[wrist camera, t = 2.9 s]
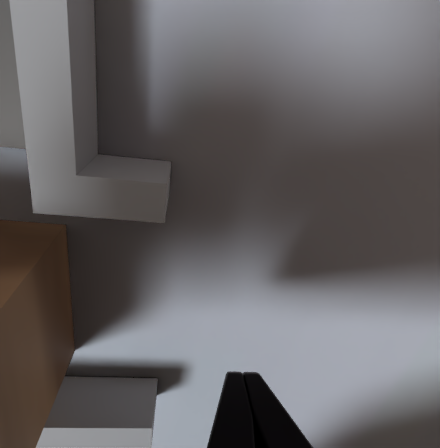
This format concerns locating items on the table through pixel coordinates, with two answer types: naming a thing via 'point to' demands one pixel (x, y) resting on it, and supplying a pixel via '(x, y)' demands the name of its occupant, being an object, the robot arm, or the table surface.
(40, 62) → the trap lane
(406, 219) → the table surface
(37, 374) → the walnut block
